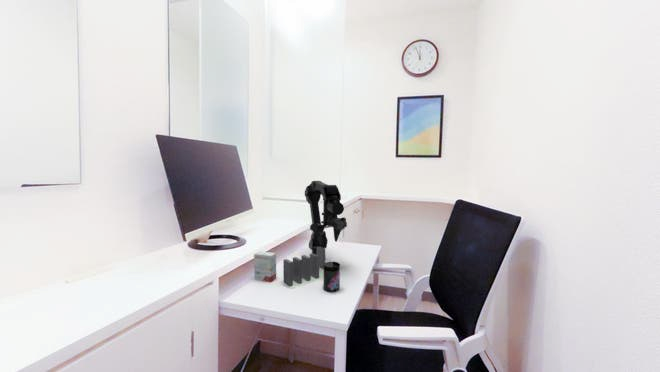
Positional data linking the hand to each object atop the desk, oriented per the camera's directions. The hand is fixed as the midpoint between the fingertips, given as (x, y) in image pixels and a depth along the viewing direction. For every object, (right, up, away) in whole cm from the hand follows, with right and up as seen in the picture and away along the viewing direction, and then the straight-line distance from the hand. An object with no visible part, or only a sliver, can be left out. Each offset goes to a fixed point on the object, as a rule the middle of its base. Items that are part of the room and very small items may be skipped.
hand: (328, 243), depth 137 cm
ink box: (-28, -14, -12) cm, 33 cm away
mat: (-8, -14, -11) cm, 19 cm away
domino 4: (-6, -13, -9) cm, 17 cm away
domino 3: (-10, -14, -12) cm, 21 cm away
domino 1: (-17, -14, -17) cm, 28 cm away
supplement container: (+1, -15, -21) cm, 26 cm away
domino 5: (-4, -13, +3) cm, 14 cm away
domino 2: (-13, -14, -15) cm, 24 cm away
